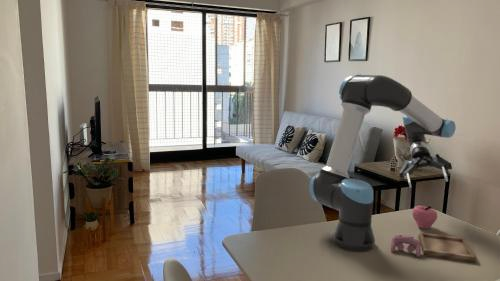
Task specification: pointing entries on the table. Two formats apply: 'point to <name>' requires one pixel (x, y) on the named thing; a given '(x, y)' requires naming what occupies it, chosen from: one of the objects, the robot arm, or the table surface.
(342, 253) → the table surface
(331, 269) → the table surface
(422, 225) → the apple
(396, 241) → the video game controller
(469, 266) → the table surface
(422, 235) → the walnut tray
